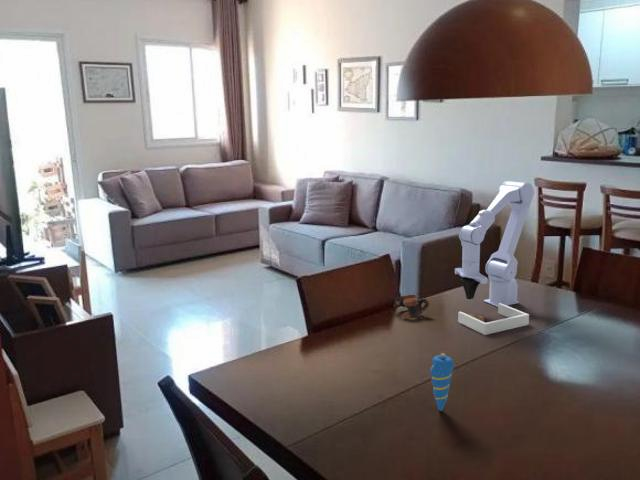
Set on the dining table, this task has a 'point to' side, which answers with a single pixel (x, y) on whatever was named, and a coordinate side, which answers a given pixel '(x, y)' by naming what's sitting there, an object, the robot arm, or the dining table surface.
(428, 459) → the dining table surface
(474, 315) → the shard
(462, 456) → the dining table surface
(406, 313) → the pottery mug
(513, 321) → the box
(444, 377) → the ornament
